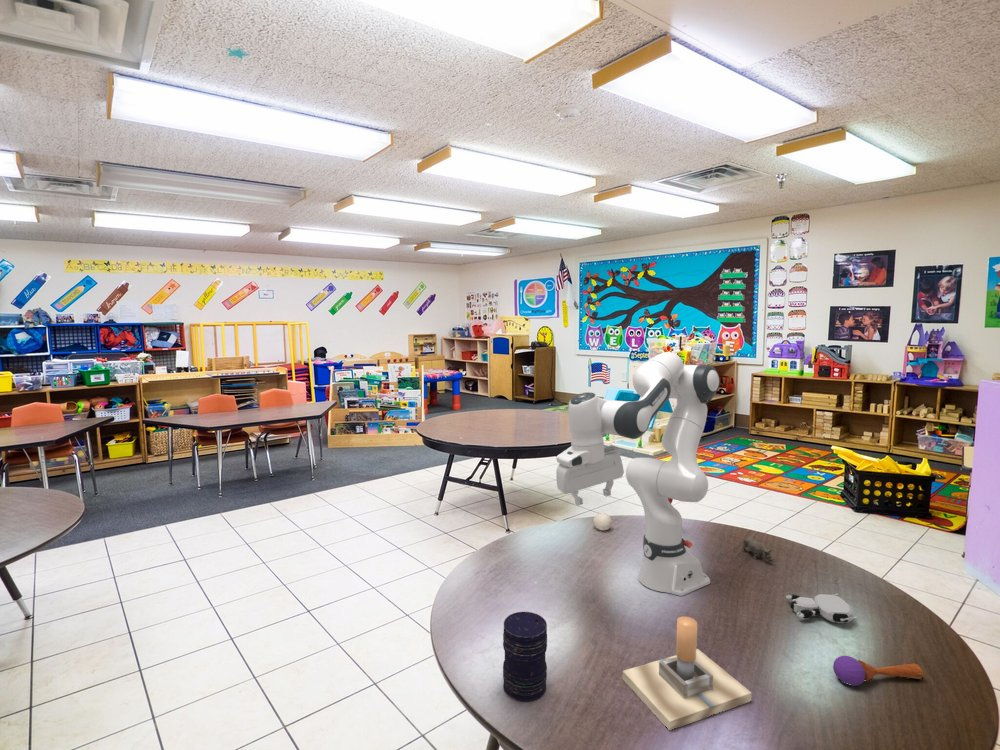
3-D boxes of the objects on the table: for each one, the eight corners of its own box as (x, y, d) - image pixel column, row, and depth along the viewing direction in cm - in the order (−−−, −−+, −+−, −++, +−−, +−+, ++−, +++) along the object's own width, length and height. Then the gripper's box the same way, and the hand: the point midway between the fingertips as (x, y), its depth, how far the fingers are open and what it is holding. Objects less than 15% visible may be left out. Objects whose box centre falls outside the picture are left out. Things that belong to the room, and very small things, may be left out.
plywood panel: (697, 656, 124) (698, 637, 124) (751, 701, 109) (752, 679, 109) (622, 678, 116) (622, 658, 116) (669, 730, 101) (670, 707, 101)
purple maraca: (932, 672, 113) (850, 671, 111) (923, 693, 115) (842, 692, 113) (909, 651, 119) (831, 649, 117) (901, 670, 121) (824, 669, 119)
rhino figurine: (768, 568, 169) (769, 551, 169) (739, 550, 183) (740, 534, 182) (778, 567, 171) (779, 550, 170) (748, 549, 184) (749, 533, 183)
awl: (685, 672, 115) (688, 614, 114) (699, 684, 111) (701, 625, 110) (671, 677, 114) (673, 618, 112) (684, 689, 110) (686, 629, 108)
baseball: (598, 524, 206) (598, 508, 206) (614, 529, 202) (614, 513, 201) (589, 529, 201) (590, 513, 200) (606, 534, 196) (606, 518, 196)
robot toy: (798, 627, 138) (860, 631, 134) (797, 611, 137) (860, 615, 134) (783, 603, 150) (840, 606, 146) (783, 588, 149) (840, 591, 146)
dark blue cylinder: (514, 708, 107) (514, 642, 106) (495, 678, 116) (496, 617, 115) (554, 694, 111) (555, 630, 110) (534, 667, 120) (534, 607, 119)
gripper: (612, 441, 146) (616, 487, 148) (551, 458, 138) (556, 506, 140) (626, 446, 140) (630, 493, 142) (563, 463, 132) (568, 513, 134)
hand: (593, 499), depth 141 cm, fingers open, 8 cm apart
